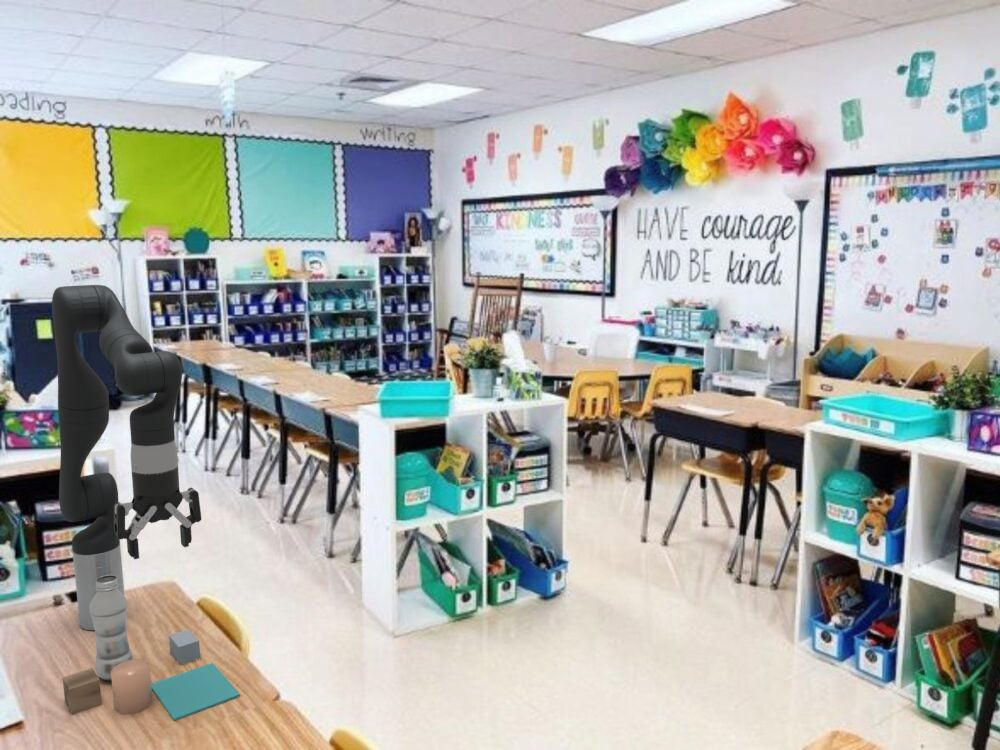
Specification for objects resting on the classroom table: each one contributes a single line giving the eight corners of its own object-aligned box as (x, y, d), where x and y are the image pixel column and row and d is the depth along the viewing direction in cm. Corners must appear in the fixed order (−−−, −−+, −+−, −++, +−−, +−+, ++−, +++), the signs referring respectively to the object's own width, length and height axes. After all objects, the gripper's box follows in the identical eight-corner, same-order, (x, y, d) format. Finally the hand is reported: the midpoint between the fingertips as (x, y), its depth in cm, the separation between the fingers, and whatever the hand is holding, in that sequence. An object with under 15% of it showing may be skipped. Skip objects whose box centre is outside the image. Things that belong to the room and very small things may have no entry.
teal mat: (149, 686, 152) (149, 684, 152) (212, 664, 160) (212, 662, 159) (174, 720, 141) (174, 718, 141) (240, 696, 149) (240, 694, 149)
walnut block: (65, 702, 147) (62, 677, 146) (94, 692, 150) (92, 668, 149) (71, 715, 143) (68, 689, 142) (101, 704, 146) (99, 679, 145)
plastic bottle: (119, 686, 152) (111, 587, 148) (88, 682, 153) (78, 584, 149) (141, 668, 158) (133, 573, 154) (110, 664, 159) (102, 570, 156)
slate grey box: (170, 653, 164) (168, 635, 163) (190, 647, 167) (188, 629, 166) (180, 665, 159) (178, 647, 159) (200, 658, 162) (199, 640, 161)
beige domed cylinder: (109, 702, 147) (106, 667, 146) (146, 689, 151) (143, 655, 150) (119, 718, 142) (116, 682, 141) (157, 705, 146) (154, 670, 145)
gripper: (189, 452, 148) (193, 535, 151) (105, 466, 139) (112, 554, 142) (203, 463, 142) (207, 549, 145) (117, 478, 133) (123, 569, 137)
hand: (160, 551), depth 144 cm, fingers open, 8 cm apart
